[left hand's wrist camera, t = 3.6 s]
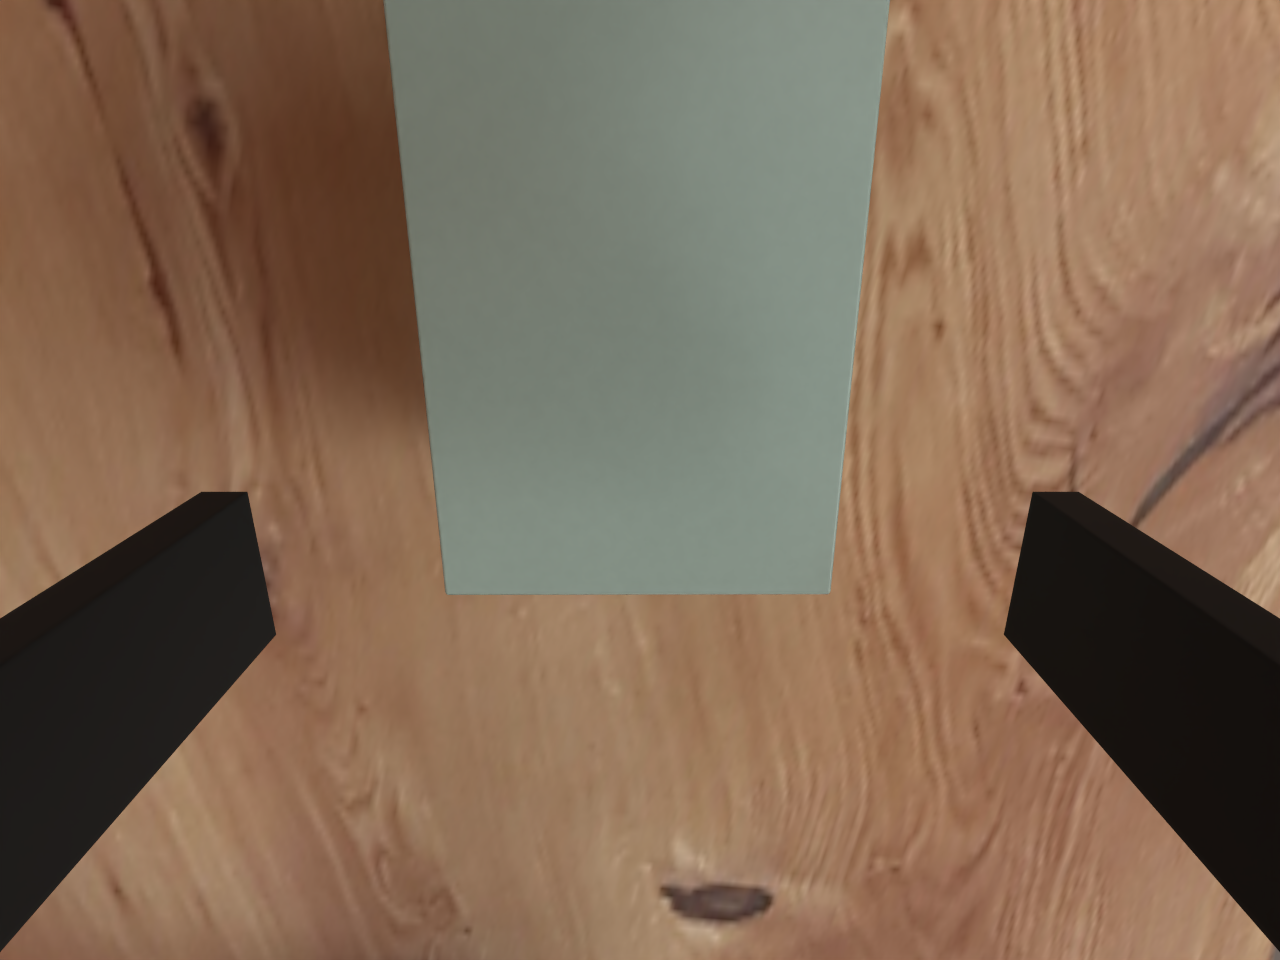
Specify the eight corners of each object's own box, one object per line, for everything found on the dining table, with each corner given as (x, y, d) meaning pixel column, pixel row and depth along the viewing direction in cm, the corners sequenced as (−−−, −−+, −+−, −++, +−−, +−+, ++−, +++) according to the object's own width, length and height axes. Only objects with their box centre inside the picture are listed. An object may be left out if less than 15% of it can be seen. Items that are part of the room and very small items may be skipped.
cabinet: (482, -43, 24) (354, -257, 13) (792, -43, 24) (917, -257, 13) (514, 460, 29) (444, 596, 19) (762, 460, 29) (831, 595, 19)
